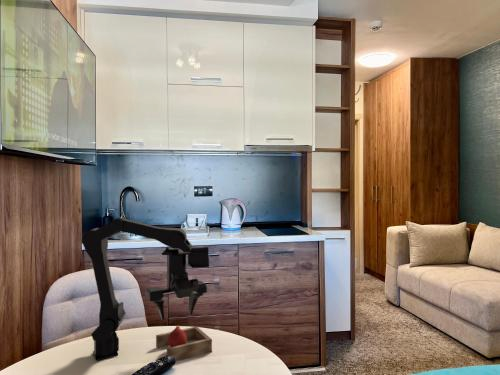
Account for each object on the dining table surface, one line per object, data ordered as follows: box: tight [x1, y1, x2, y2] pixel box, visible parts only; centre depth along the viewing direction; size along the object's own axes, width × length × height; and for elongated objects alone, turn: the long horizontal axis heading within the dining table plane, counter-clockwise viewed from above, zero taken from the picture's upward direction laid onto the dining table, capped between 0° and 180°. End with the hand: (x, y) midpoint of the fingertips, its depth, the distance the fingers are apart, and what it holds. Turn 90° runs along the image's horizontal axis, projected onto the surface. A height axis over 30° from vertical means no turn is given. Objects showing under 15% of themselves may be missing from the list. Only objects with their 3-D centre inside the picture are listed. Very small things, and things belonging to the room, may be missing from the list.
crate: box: [155, 325, 213, 362], centre depth 115 cm, size 14×12×4 cm
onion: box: [168, 325, 187, 348], centre depth 114 cm, size 6×6×8 cm
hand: (177, 317), depth 114 cm, fingers open, 9 cm apart
